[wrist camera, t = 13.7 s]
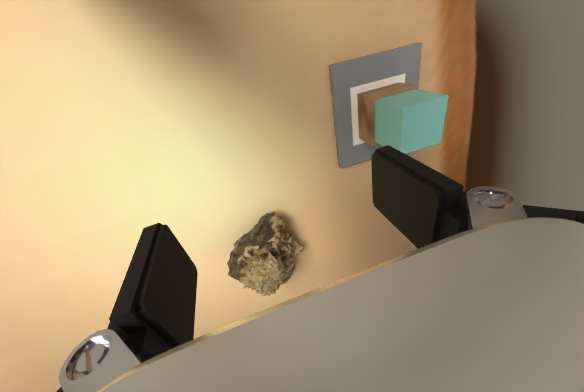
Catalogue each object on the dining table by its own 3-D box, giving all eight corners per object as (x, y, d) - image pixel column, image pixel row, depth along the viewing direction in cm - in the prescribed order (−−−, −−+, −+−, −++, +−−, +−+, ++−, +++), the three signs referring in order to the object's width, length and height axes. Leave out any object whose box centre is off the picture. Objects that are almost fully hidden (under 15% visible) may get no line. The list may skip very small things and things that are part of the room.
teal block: (374, 99, 33) (403, 107, 28) (413, 89, 33) (448, 95, 28) (374, 141, 36) (400, 155, 31) (410, 131, 36) (440, 143, 31)
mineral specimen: (313, 243, 50) (332, 280, 42) (265, 278, 52) (274, 321, 43) (271, 200, 42) (284, 235, 34) (216, 243, 44) (216, 286, 35)
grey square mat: (328, 65, 34) (332, 65, 33) (416, 43, 35) (422, 42, 34) (338, 166, 42) (341, 168, 41) (409, 144, 44) (413, 146, 43)
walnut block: (357, 93, 36) (371, 97, 32) (399, 82, 36) (417, 85, 33) (358, 138, 39) (372, 146, 36) (397, 127, 40) (413, 133, 37)
